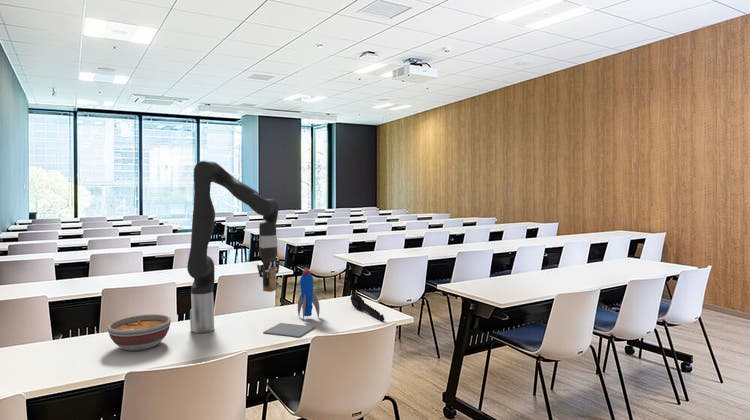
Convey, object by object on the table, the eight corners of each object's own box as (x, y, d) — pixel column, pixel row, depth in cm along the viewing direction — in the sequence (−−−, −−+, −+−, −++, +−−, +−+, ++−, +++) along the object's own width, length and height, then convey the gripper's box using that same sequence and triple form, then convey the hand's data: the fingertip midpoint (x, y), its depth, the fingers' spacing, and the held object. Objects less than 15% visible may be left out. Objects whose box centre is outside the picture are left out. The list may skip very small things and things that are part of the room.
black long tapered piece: (387, 322, 223) (387, 306, 223) (379, 323, 222) (379, 307, 221) (354, 305, 254) (354, 291, 254) (348, 306, 253) (348, 291, 252)
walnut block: (263, 291, 205) (262, 267, 204) (268, 289, 208) (267, 266, 208) (271, 291, 203) (270, 268, 202) (276, 289, 207) (275, 266, 206)
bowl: (130, 360, 178) (129, 334, 178) (96, 350, 190) (95, 325, 190) (183, 342, 198) (182, 318, 197) (149, 333, 210) (148, 311, 209)
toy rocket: (319, 317, 232) (318, 266, 231) (315, 322, 223) (314, 269, 221) (298, 316, 233) (296, 265, 232) (292, 322, 224) (291, 269, 222)
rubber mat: (263, 333, 208) (263, 331, 208) (280, 324, 221) (280, 322, 221) (299, 337, 202) (299, 336, 202) (315, 327, 215) (315, 326, 215)
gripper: (270, 243, 212) (271, 281, 214) (250, 247, 199) (252, 288, 200) (285, 243, 210) (286, 282, 211) (265, 248, 197) (267, 289, 198)
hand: (269, 285), depth 206 cm, fingers closed on walnut block, 4 cm apart
